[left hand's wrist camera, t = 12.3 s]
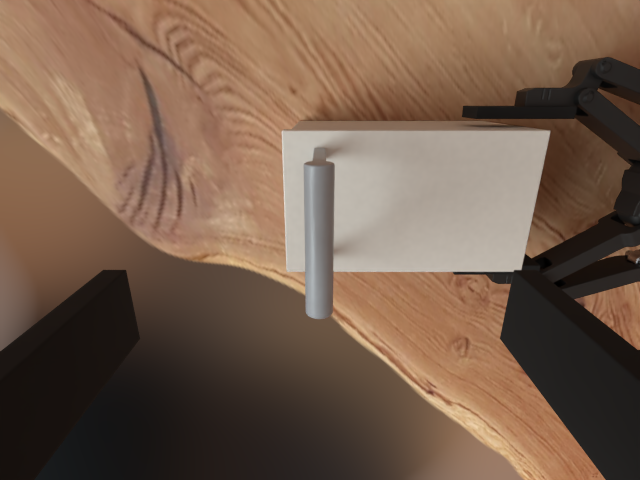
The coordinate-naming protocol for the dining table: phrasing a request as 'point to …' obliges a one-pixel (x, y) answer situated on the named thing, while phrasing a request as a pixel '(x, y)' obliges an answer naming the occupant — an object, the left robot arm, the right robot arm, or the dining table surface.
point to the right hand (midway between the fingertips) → (458, 192)
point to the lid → (407, 202)
